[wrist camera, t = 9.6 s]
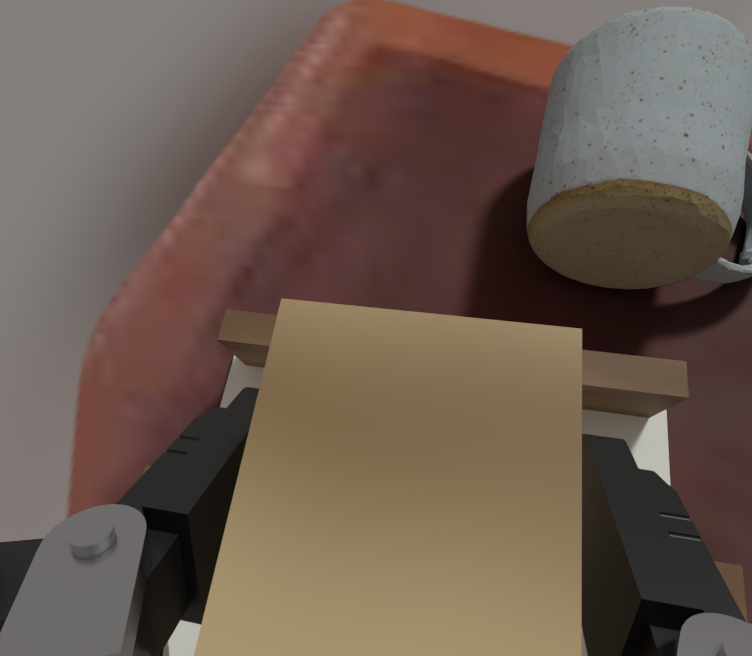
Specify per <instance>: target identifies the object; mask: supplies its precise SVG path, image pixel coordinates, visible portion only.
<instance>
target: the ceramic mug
mask: <svg viewBox="0 0 752 656" xmlns="http://www.w3.org/2000/svg"><path fill="white" fill-rule="evenodd" d="M751 128H752V46H751V44H750V42H749V40H748V39H747V37H746V36H745V35H744V34H743V33H742V32H741V31H739V30H738V28H737V27H736V26H734V25H733V24H732V23H730V22H729V21H728V20H726V19H724V18H722V17H720V16H718V15H716V14H714V13H711V12H707V11H704V10H697V9H694V8H689V7H681V6H678V7H656V8H651V9H645V10H638V11H635V12H631V13H628V14H625V15H622V16H619V17H616V18H614V19H612V20H610V21H608V22H606V23H605V24H602V25H601V26H599V27H597V28H595V29H594V30H592V31H591V32H590V33H588V34H587V35H586V36H584V37H583V38H582V39H581V40H580V41H578V42H577V43H576V44H575V45H574V46H573V47H572V48H571V49H570V50H569V51H568V52H567V54H566V55H565V57H564V58H563V59H562V61H561V62H560V64H559V65H558V67H557V68H556V71H555V73H554V75H553V78H552V81H551V85H550V88H549V93H548V99H547V104H546V109H545V114H544V119H543V124H542V129H541V134H540V140H539V145H538V151H537V156H536V161H535V166H534V171H533V176H532V181H531V186H530V191H529V196H528V200H527V234H528V240H529V243H530V245H531V247H532V249H533V251H534V252H535V254H536V255H537V256H538V257H539V258H540V259H541V260H542V261H543V262H544V263H545V264H546V265H547V266H549V267H550V268H552V269H553V270H555V271H556V272H558V273H560V274H561V275H563V276H565V277H567V278H570V279H573V280H576V281H579V282H582V283H585V284H589V285H593V286H599V287H605V288H616V289H648V288H654V287H661V286H667V285H671V284H674V283H677V282H680V281H683V280H686V279H689V278H691V277H694V278H696V279H698V280H700V281H705V282H712V283H717V284H725V283H732V282H736V281H740V280H743V279H746V278H749V277H752V154H751V153H750V152H749V151H748V145H749V139H750V134H751ZM741 208H742V210H743V212H744V215H745V216H744V218H745V221H746V236H745V241H744V245H743V252H742V253H741V254H740V257H739V265H738V264H735V263H731V262H728V261H727V260H725V259H723V258H721V256H722V255H723V253H724V252H725V250H726V248H727V246H728V245H729V243H730V240H731V238H732V235H733V233H734V230H735V228H736V225H737V222H738V219H739V217H740V213H741Z"/></svg>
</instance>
